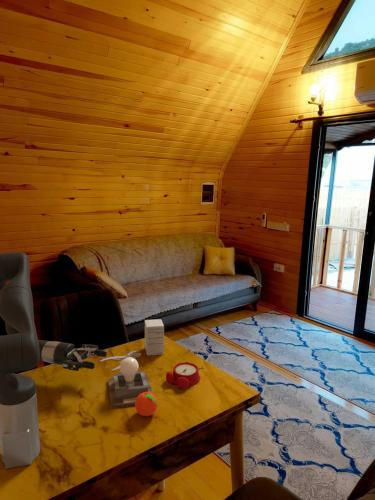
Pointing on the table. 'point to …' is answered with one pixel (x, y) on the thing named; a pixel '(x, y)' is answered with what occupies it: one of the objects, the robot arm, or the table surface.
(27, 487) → the table surface
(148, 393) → the clementine
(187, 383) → the alarm clock
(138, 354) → the pliers
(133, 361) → the lightbulb
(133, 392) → the socket stand
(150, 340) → the supplement box
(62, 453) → the table surface
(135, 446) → the table surface
